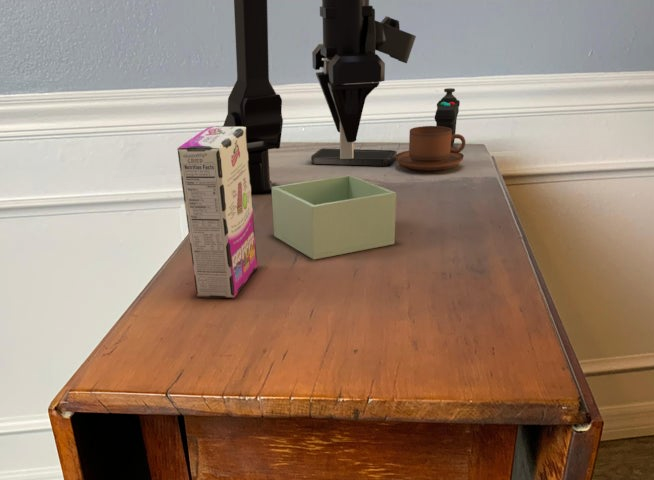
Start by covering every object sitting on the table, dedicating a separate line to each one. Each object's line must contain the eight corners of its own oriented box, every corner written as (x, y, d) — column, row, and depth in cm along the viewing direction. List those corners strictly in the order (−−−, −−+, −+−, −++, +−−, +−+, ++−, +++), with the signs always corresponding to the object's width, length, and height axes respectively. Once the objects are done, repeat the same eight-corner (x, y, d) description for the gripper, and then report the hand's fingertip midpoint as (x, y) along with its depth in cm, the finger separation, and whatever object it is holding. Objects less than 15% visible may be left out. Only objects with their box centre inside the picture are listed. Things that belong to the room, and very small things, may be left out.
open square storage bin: (274, 236, 111) (271, 186, 107) (350, 222, 115) (350, 174, 111) (313, 259, 102) (312, 206, 98) (394, 244, 106) (396, 192, 102)
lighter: (353, 158, 103) (353, 89, 98) (340, 158, 103) (339, 89, 99) (353, 147, 109) (353, 82, 104) (341, 148, 109) (340, 82, 104)
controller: (457, 142, 158) (461, 86, 153) (453, 156, 149) (458, 96, 143) (436, 142, 159) (439, 86, 153) (430, 156, 149) (433, 96, 144)
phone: (389, 159, 143) (309, 156, 146) (389, 166, 143) (309, 163, 147) (398, 150, 149) (321, 148, 152) (397, 156, 149) (321, 154, 153)
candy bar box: (220, 266, 101) (206, 125, 91) (258, 267, 100) (248, 125, 90) (193, 298, 92) (175, 145, 82) (234, 299, 91) (221, 145, 82)
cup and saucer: (443, 157, 148) (446, 121, 144) (474, 170, 139) (478, 132, 135) (384, 164, 145) (385, 127, 141) (412, 178, 136) (413, 139, 132)
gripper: (430, -5, 89) (423, 146, 98) (393, -10, 104) (390, 121, 113) (332, 0, 88) (334, 152, 97) (310, -5, 103) (313, 126, 112)
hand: (346, 136), depth 105 cm, fingers closed on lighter, 7 cm apart
